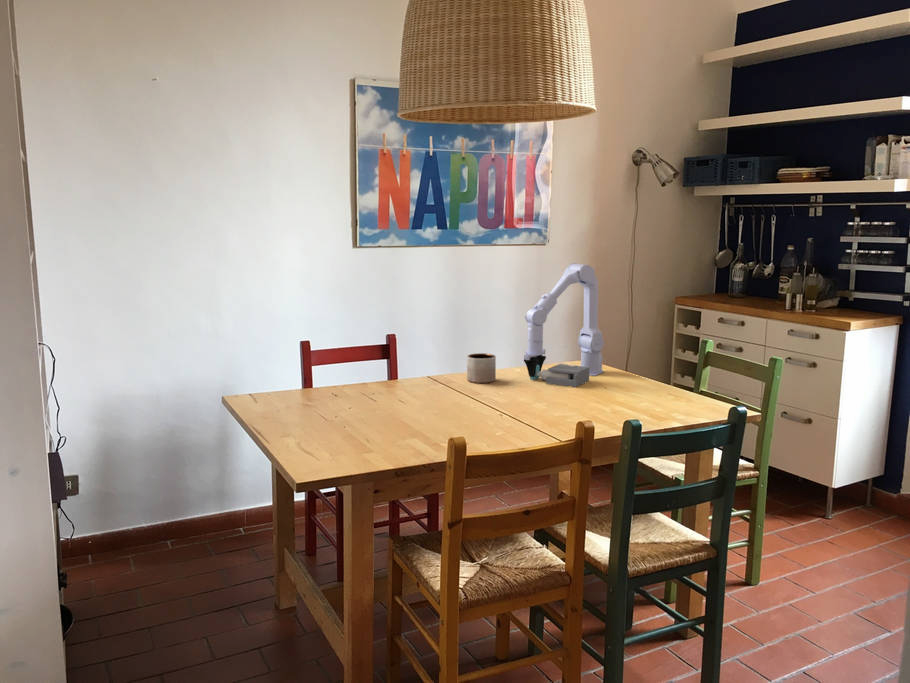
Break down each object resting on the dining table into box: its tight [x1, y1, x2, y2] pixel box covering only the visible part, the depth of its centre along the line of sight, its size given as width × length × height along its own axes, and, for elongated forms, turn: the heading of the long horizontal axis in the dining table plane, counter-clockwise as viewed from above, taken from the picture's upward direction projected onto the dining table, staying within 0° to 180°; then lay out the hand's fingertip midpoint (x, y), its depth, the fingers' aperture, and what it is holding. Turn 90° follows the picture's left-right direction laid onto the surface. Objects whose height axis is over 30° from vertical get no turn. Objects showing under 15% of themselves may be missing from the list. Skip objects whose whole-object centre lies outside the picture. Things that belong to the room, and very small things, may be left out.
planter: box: [466, 352, 497, 384], centre depth 300 cm, size 11×11×10 cm
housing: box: [545, 363, 590, 388], centre depth 298 cm, size 12×12×5 cm
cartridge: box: [529, 365, 572, 381], centre depth 300 cm, size 4×16×5 cm, turn 58°
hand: (534, 375), depth 303 cm, fingers closed on cartridge, 4 cm apart
